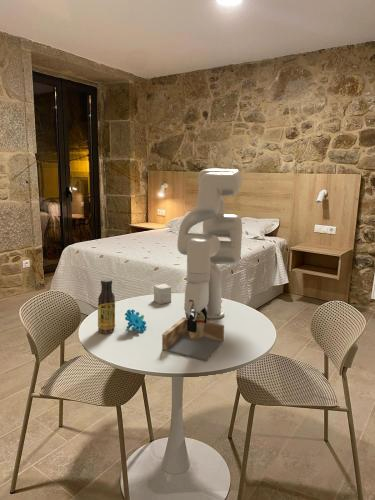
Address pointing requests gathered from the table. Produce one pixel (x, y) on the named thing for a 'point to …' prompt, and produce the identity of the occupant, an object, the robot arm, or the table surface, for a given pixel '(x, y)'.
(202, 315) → the tan rounded piece
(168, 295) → the skincare box
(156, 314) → the table surface
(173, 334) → the corner rails
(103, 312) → the sauce bottle
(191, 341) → the slate mat
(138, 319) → the gear
